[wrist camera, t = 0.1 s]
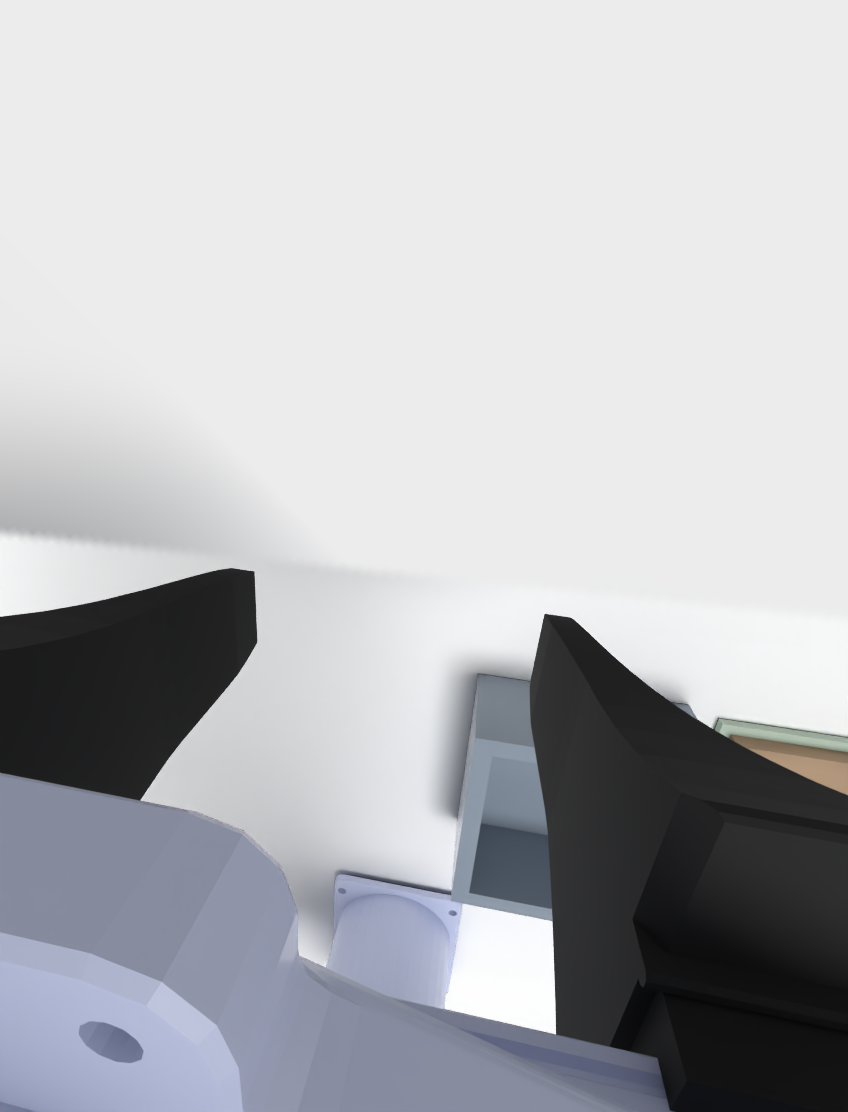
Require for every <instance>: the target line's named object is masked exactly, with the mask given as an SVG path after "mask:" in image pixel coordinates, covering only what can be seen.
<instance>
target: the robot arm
mask: <svg viewBox="0 0 848 1112" xmlns="http://www.w3.org/2000/svg"><path fill="white" fill-rule="evenodd" d="M256 644H257V624H256V600H255V576H254V571H247V570H240V569H233V568H230V569H222V570H217V571H212V572H208V573H204V574H200V575H196V576H193V577H189V578H185V579H182V580H178V581H175V582H171V583H168V584H164V585H160V586H157V587H153V588H150V589H146V590H142V591H138V592H134V593H130V594H126V595H122V596H118V597H114V598H110V599H106V600H101V601H97V602H92V603H87V604H83V605H77V606H72V607H66V608H61V609H55V610H49V611H43V612H36V613H28V614H20V615H12V616H4V617H0V1112H848V795H846V794H844V793H841V792H839V791H836V790H834V789H831V788H829V787H827V786H824V785H822V784H819V783H817V782H815V781H813V780H810V779H808V778H806V777H804V776H802V775H800V774H798V773H796V772H794V771H791V770H789V769H787V768H785V767H783V766H781V765H779V764H777V763H775V762H773V761H771V760H769V759H767V758H765V757H763V756H761V755H759V754H757V753H755V752H753V751H751V750H749V749H747V748H745V747H743V746H742V745H740V744H738V743H736V742H735V741H733V740H731V739H729V738H728V737H726V736H724V735H722V734H721V733H719V732H717V731H715V730H714V729H712V728H710V727H708V726H707V725H705V724H703V723H702V722H700V721H699V720H697V719H695V718H694V717H692V716H691V715H689V714H688V713H686V712H685V711H683V710H682V709H680V708H679V707H677V706H676V705H674V704H673V703H671V702H670V701H668V700H667V699H666V698H664V697H663V696H661V695H660V694H659V693H657V692H656V691H655V690H653V689H652V688H651V687H649V686H648V685H647V684H646V683H644V682H643V681H642V680H641V679H639V678H638V677H637V676H636V675H634V674H633V673H632V672H631V671H630V670H628V669H627V668H626V667H625V666H624V665H623V664H621V663H620V662H619V661H618V660H617V659H616V658H615V657H613V656H612V655H611V654H610V653H609V652H608V651H607V650H606V649H605V648H604V647H603V646H602V645H600V644H599V643H598V642H597V641H596V640H595V639H594V638H593V637H592V636H591V635H590V634H589V633H588V632H587V631H586V630H585V629H584V628H583V627H581V626H580V625H579V624H578V623H577V622H576V621H575V620H573V619H572V618H569V617H562V616H556V615H549V614H545V615H544V619H543V624H542V629H541V634H540V638H539V643H538V648H537V653H536V658H535V662H534V667H533V672H532V677H531V681H530V722H531V729H532V735H533V741H534V748H535V754H536V760H537V765H538V771H539V777H540V783H541V789H542V795H543V801H544V807H545V814H546V822H547V831H548V846H549V862H550V878H551V898H552V919H553V942H554V971H555V1000H556V1035H555V1034H551V1033H547V1032H542V1031H538V1030H533V1029H529V1028H525V1027H520V1026H516V1025H512V1024H507V1023H503V1022H499V1021H494V1020H490V1019H485V1018H481V1017H477V1016H472V1015H468V1014H464V1013H459V1012H455V1011H450V1010H446V1009H444V1008H445V996H446V994H447V993H448V989H449V983H450V977H451V971H452V965H453V959H454V953H455V947H456V940H457V934H458V928H459V922H460V916H461V910H462V903H459V902H454V901H451V895H446V894H441V893H436V892H431V891H426V890H421V889H416V888H411V887H406V886H401V885H395V884H390V883H385V882H380V881H375V880H370V879H365V878H360V877H355V876H350V875H345V874H341V875H338V876H337V877H336V880H335V889H334V941H333V944H332V948H331V952H330V955H329V959H328V962H327V966H326V968H325V967H323V966H321V965H319V964H316V963H314V962H312V961H310V960H308V959H306V958H303V957H301V956H299V953H298V931H297V908H296V906H295V903H294V900H293V897H292V895H291V892H290V889H289V887H288V884H287V881H286V878H285V876H284V873H283V871H282V869H281V867H280V865H279V863H278V862H277V861H276V860H275V859H274V858H273V857H272V856H271V855H269V854H268V853H267V852H266V851H265V850H264V849H263V848H262V847H261V846H260V845H258V844H257V843H256V842H255V841H254V840H253V839H252V838H251V837H250V836H249V835H247V834H246V833H245V832H244V831H243V830H240V829H238V828H235V827H233V826H230V825H228V824H225V823H223V822H220V821H218V820H215V819H213V818H210V817H208V816H205V815H203V814H200V813H198V812H194V811H189V810H184V809H179V808H174V807H169V806H164V805H159V804H154V803H149V802H144V801H140V800H141V798H142V797H143V795H144V794H145V792H146V791H147V789H148V788H149V786H150V785H151V783H152V782H153V780H154V779H155V777H156V776H157V775H158V773H159V772H160V770H161V769H162V767H163V766H164V764H165V763H166V761H167V760H168V758H169V757H170V756H171V755H172V753H173V752H174V751H175V749H176V748H177V747H178V746H179V744H180V743H181V742H182V741H183V739H184V738H185V737H186V736H187V735H188V733H189V732H190V731H191V730H192V729H193V727H194V726H195V725H196V724H197V723H198V722H199V720H200V719H201V718H202V717H203V716H204V714H205V713H206V712H207V711H208V710H209V708H210V707H211V706H212V705H213V704H214V703H215V701H216V700H217V699H218V698H219V697H220V695H221V694H222V693H223V692H224V691H225V689H226V688H227V687H228V686H229V685H230V683H231V682H232V681H233V680H234V678H235V677H236V676H237V675H238V673H239V672H240V670H241V669H242V667H243V665H244V664H245V662H246V661H247V659H248V657H249V656H250V654H251V652H252V650H253V649H254V647H255V645H256Z"/></svg>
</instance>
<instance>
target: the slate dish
mask: <svg viewBox="0 0 848 1112" xmlns="http://www.w3.org/2000/svg"><path fill="white" fill-rule="evenodd" d="M671 703H672V702H671ZM673 704H674V705H676V706H677V707H679V708H680V709H682V710H683V711H685V712H686V713H688V714H689V715H691V716H692V717H694V718H695V719H697V718H696V716H695V714H694V713H693V711H692V709H691V708H690V706H689V705H685V704H679V703H673ZM697 720H698V719H697ZM451 901H454V902H459V903H464V904H469V905H474V906H479V907H484V908H489V909H494V910H499V911H504V912H509V913H514V914H519V915H524V916H530V917H535V918H540V919H545V920H550V921H553V919H552V898H551V878H550V862H549V846H548V831H547V822H546V814H545V807H544V801H543V795H542V789H541V783H540V777H539V771H538V765H537V760H536V754H535V748H534V741H533V735H532V729H531V722H530V681H524V680H517V679H510V678H504V677H497V676H490V675H483V674H478V681H477V688H476V695H475V702H474V708H473V715H472V722H471V729H470V736H469V743H468V750H467V757H466V764H465V771H464V778H463V784H462V791H461V798H460V805H459V812H458V819H457V830H456V842H455V854H454V866H453V878H452V890H451Z"/></svg>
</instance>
